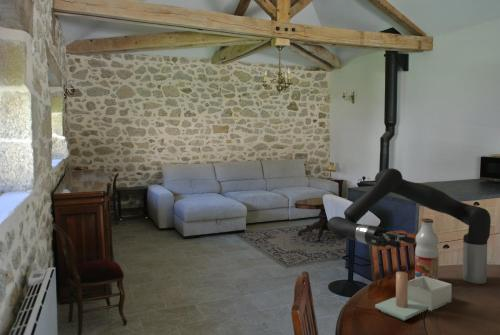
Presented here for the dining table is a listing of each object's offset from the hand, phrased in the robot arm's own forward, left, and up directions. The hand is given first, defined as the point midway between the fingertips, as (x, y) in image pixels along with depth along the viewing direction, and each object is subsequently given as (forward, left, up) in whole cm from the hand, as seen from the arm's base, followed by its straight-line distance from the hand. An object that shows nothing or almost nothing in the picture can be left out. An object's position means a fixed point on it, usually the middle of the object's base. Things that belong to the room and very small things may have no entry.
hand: (407, 243), depth 138 cm
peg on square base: (0, -2, -26) cm, 26 cm away
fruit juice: (-36, -14, -26) cm, 47 cm away
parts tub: (-16, -2, -26) cm, 30 cm away
